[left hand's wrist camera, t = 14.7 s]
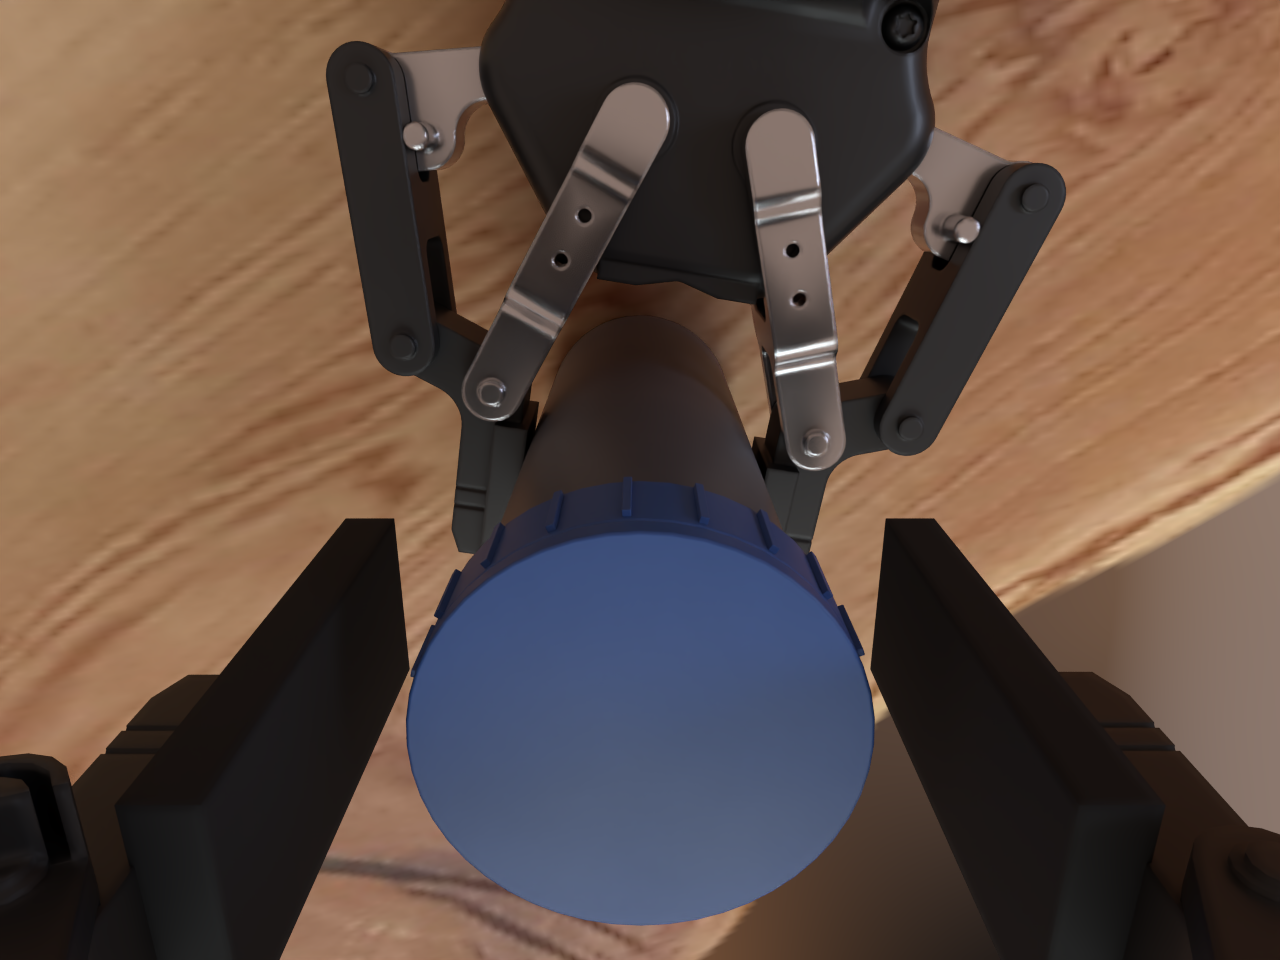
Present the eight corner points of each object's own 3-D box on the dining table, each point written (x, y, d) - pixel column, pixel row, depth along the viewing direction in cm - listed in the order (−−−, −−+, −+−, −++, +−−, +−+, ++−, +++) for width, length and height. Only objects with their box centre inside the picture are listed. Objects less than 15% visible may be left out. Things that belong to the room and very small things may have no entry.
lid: (917, 735, 13) (956, 816, 11) (572, 893, 14) (564, 989, 12) (725, 394, 11) (738, 435, 9) (347, 604, 12) (302, 672, 10)
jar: (658, 515, 27) (679, 926, 12) (519, 420, 26) (368, 751, 11) (762, 383, 25) (920, 678, 11) (620, 278, 24) (592, 453, 10)
